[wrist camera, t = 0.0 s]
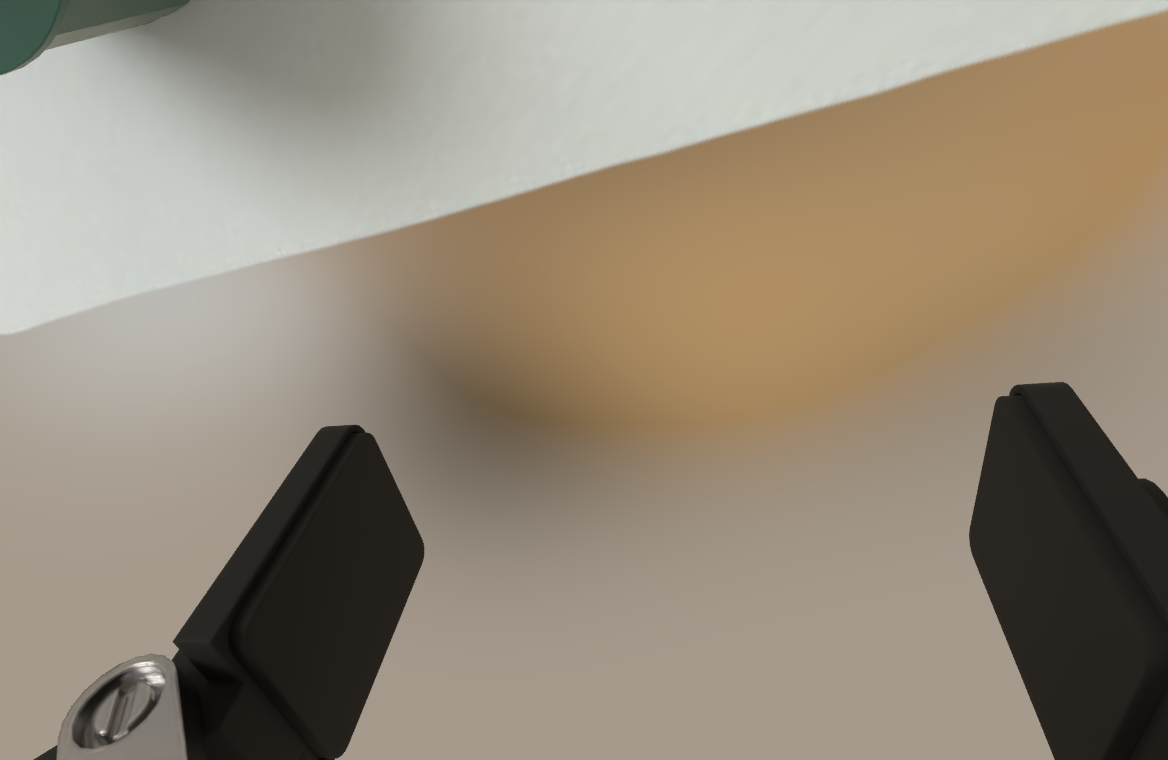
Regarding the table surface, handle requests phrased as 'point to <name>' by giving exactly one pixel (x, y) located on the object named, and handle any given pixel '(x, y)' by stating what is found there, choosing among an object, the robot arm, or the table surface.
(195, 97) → the table surface
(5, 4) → the lid
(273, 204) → the table surface
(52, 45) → the pot
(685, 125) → the table surface
